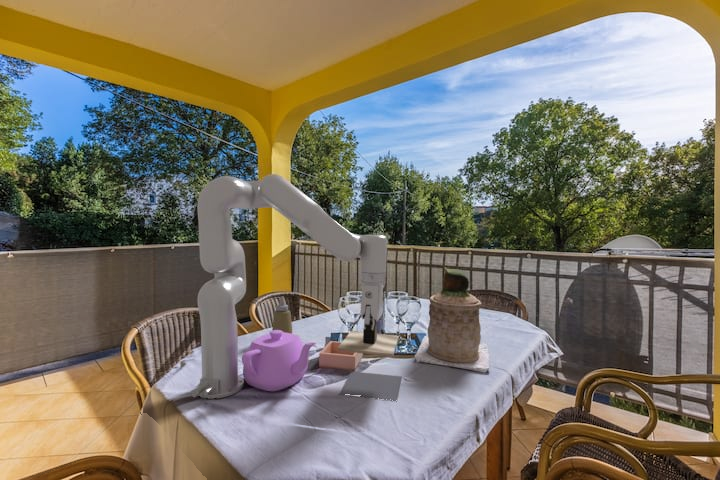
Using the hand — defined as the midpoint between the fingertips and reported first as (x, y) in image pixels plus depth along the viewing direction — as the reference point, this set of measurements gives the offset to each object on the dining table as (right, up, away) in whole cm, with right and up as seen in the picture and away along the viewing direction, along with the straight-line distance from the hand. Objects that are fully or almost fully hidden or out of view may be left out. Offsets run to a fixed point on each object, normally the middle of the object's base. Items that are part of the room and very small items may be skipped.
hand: (370, 340), depth 97 cm
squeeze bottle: (-34, -12, +38) cm, 52 cm away
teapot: (-27, -14, +4) cm, 31 cm away
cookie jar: (+31, -13, +25) cm, 41 cm away
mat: (+1, -14, +1) cm, 14 cm away
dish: (-9, -13, +17) cm, 23 cm away
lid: (0, -1, 0) cm, 1 cm away
